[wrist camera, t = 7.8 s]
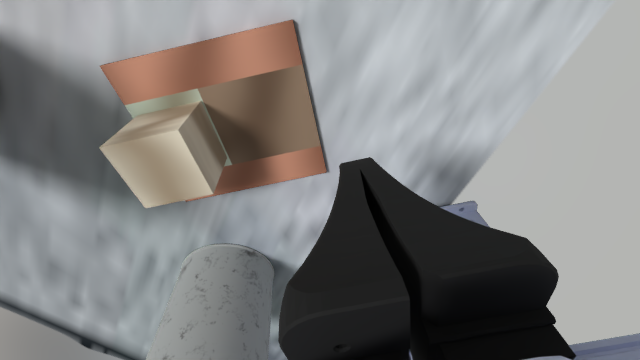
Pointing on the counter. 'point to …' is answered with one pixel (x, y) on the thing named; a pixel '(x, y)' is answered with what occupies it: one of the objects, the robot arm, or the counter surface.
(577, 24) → the counter surface
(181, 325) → the grey marbled cylinder
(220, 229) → the counter surface
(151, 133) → the birch block
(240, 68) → the board
